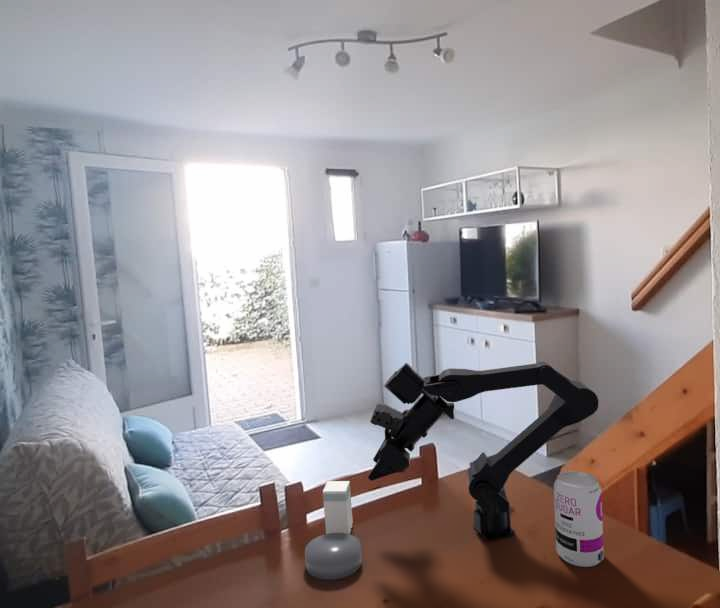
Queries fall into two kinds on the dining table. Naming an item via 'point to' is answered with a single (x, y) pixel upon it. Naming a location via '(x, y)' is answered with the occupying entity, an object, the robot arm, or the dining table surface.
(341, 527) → the carton
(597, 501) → the supplement can
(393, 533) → the dining table surface
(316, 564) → the grey dome
